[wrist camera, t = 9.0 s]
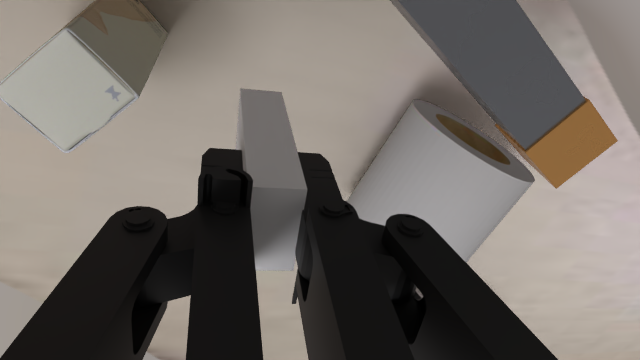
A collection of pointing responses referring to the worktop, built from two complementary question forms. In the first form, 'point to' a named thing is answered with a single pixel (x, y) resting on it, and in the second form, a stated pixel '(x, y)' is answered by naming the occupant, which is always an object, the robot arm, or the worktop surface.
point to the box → (86, 72)
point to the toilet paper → (442, 178)
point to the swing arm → (514, 81)
